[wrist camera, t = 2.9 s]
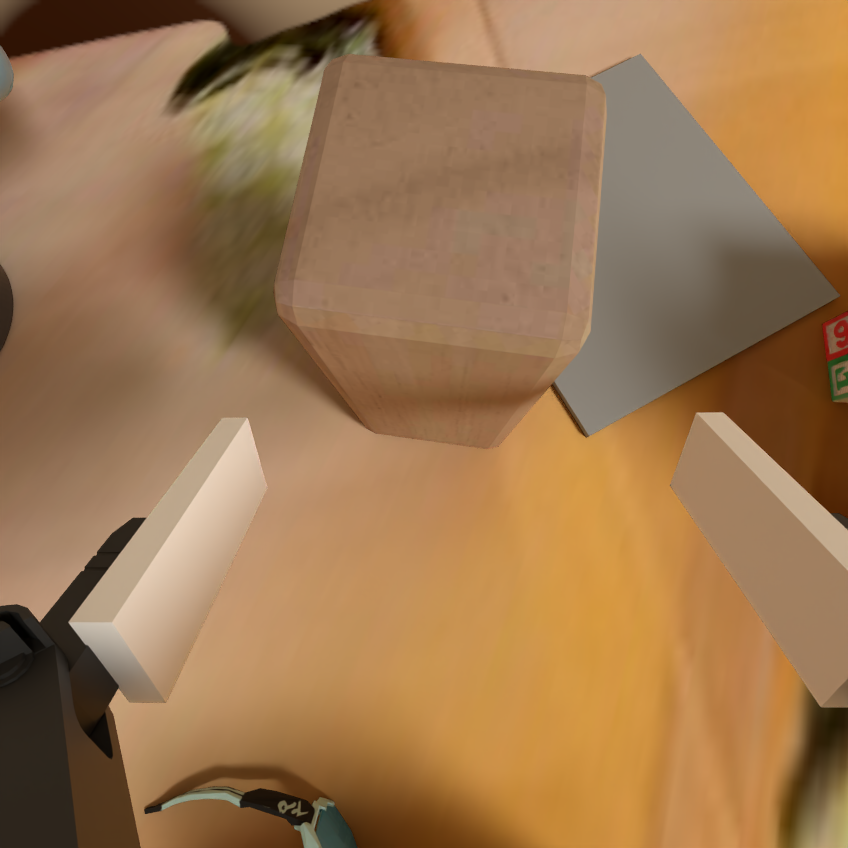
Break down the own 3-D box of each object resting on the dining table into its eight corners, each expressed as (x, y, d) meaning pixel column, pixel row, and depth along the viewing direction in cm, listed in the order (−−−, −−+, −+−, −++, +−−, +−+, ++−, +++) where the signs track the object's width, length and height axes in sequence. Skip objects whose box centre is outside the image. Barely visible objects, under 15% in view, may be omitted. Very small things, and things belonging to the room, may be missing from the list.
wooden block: (385, 309, 35) (319, 35, 15) (514, 324, 34) (620, 61, 14) (363, 434, 33) (253, 306, 13) (500, 453, 32) (600, 350, 12)
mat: (415, 168, 37) (415, 163, 36) (637, 60, 39) (640, 53, 38) (586, 437, 32) (589, 436, 31) (833, 299, 34) (840, 296, 33)
